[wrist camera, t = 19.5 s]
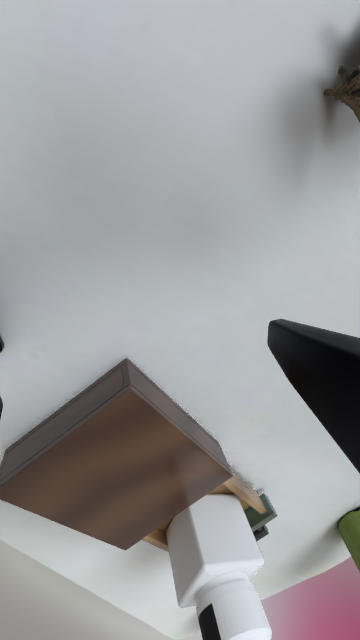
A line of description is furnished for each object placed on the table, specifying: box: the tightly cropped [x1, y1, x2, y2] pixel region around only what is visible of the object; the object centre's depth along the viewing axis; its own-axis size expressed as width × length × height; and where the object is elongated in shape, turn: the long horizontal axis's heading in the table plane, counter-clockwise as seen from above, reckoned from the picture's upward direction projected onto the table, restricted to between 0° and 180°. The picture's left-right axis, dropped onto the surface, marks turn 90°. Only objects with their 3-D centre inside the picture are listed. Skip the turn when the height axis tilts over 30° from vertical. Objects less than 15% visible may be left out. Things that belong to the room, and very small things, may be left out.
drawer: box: [142, 471, 277, 552], centre depth 34 cm, size 20×13×3 cm, turn 35°
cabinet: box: [0, 358, 233, 550], centre depth 27 cm, size 16×14×4 cm
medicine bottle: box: [166, 494, 272, 640], centre depth 29 cm, size 7×7×12 cm
